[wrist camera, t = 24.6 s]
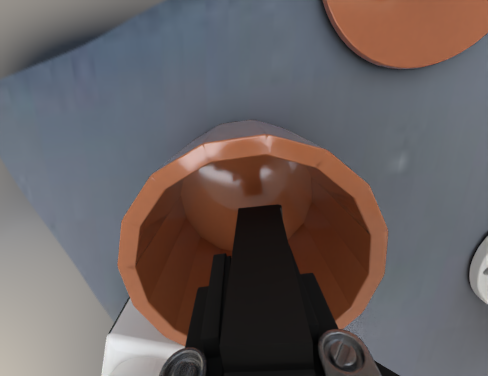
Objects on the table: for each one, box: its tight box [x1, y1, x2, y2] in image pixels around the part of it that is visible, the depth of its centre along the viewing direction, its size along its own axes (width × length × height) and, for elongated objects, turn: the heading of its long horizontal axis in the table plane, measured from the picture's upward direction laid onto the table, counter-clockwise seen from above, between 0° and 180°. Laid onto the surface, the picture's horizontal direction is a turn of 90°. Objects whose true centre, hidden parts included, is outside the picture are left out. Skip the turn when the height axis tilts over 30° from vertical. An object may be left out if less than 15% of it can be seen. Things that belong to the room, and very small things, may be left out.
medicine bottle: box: [101, 296, 185, 376], centre depth 18 cm, size 7×7×12 cm
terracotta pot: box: [118, 120, 388, 346], centre depth 15 cm, size 12×12×10 cm
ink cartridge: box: [219, 204, 315, 376], centre depth 10 cm, size 5×2×8 cm, turn 7°
